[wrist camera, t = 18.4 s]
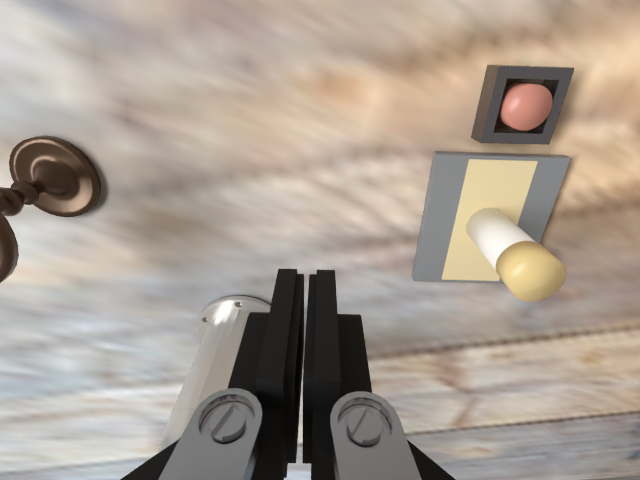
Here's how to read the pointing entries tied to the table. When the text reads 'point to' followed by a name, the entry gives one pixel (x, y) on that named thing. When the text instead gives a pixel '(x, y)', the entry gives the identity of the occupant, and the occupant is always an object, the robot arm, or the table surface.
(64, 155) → the candlestick
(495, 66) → the button housing
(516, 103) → the button
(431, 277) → the board
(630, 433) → the table surface
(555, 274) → the marker
